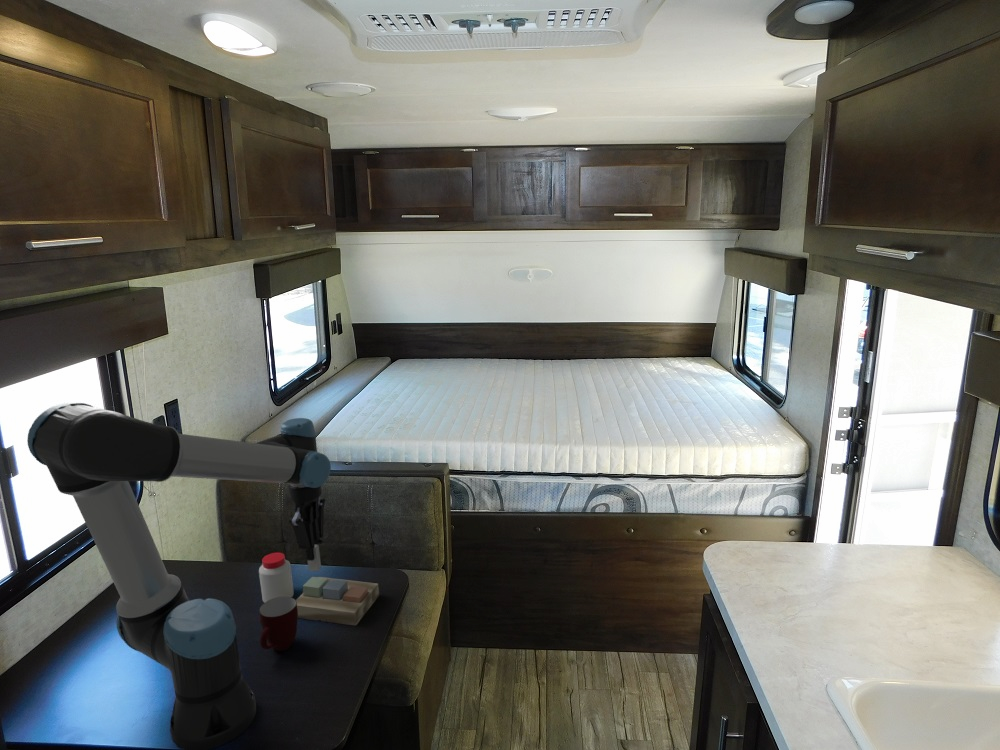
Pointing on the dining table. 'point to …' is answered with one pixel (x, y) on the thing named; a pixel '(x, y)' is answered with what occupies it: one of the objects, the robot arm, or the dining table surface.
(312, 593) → the tile sage
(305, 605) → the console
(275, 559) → the pill bottle
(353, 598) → the tile terracotta
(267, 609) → the mug
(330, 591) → the tile slate
